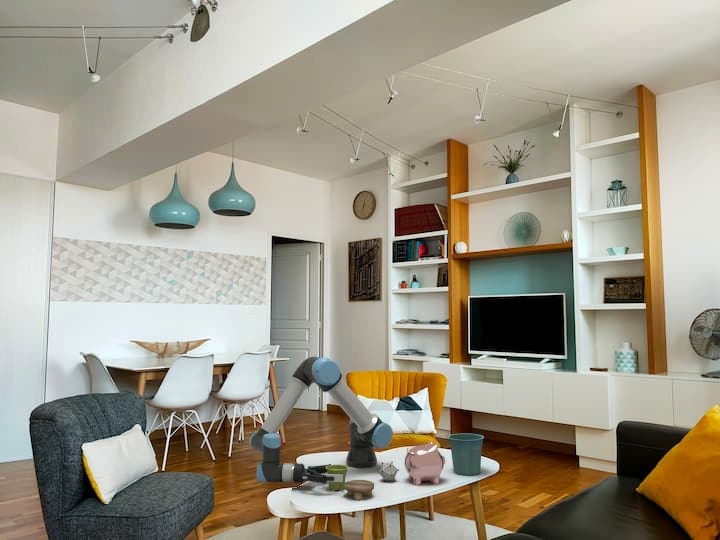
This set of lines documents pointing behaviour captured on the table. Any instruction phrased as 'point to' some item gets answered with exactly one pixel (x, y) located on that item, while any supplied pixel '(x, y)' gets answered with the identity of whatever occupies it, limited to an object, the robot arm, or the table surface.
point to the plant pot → (337, 471)
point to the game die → (388, 471)
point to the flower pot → (466, 453)
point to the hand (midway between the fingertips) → (344, 473)
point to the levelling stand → (359, 488)
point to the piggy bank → (424, 463)
